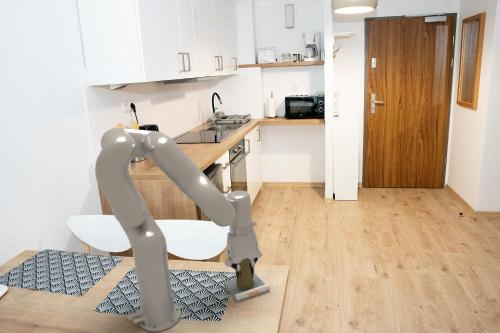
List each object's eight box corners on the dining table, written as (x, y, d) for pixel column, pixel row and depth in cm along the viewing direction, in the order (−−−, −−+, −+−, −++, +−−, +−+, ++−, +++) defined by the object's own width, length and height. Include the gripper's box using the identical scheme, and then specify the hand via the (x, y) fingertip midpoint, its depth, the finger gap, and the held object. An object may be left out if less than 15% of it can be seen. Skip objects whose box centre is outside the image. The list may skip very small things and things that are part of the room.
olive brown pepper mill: (253, 288, 131) (250, 259, 128) (235, 288, 132) (232, 259, 129) (254, 278, 137) (252, 250, 134) (237, 278, 138) (234, 250, 135)
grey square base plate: (237, 303, 128) (236, 296, 128) (223, 284, 139) (223, 278, 138) (270, 292, 133) (269, 285, 132) (254, 275, 144) (254, 269, 143)
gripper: (258, 218, 136) (262, 266, 141) (213, 230, 129) (218, 279, 134) (268, 226, 129) (272, 276, 134) (221, 239, 123) (226, 290, 128)
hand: (245, 277), depth 134 cm, fingers closed on olive brown pepper mill, 3 cm apart
